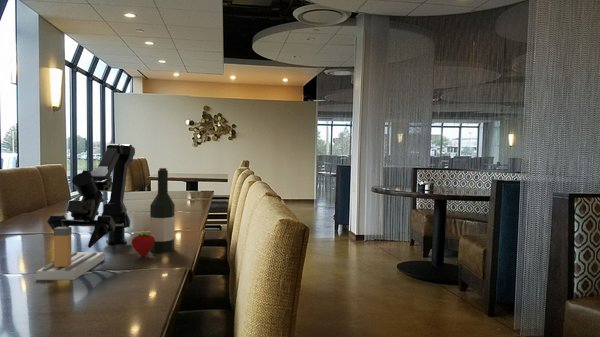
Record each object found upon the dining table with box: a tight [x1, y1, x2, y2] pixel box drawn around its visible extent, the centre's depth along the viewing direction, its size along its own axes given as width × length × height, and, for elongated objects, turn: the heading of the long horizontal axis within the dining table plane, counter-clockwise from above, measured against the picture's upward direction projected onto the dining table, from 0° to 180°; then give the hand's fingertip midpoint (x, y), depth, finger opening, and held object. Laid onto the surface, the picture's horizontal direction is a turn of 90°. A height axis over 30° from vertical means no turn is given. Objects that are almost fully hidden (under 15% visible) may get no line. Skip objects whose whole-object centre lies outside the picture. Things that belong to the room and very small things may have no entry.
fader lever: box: [53, 226, 73, 267], centre depth 113 cm, size 3×4×11 cm
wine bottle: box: [149, 167, 176, 254], centre depth 143 cm, size 8×8×30 cm
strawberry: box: [131, 228, 155, 258], centre depth 134 cm, size 6×8×10 cm
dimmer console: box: [36, 251, 105, 281], centre depth 119 cm, size 20×10×3 cm, turn 5°
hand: (73, 247), depth 119 cm, fingers open, 9 cm apart
